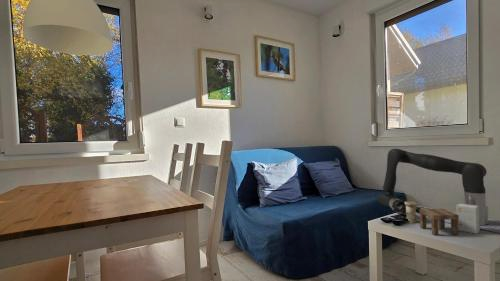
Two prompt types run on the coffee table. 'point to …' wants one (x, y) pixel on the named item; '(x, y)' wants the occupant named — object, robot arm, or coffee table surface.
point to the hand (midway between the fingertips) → (412, 212)
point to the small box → (468, 218)
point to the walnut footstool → (438, 219)
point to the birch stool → (411, 211)
